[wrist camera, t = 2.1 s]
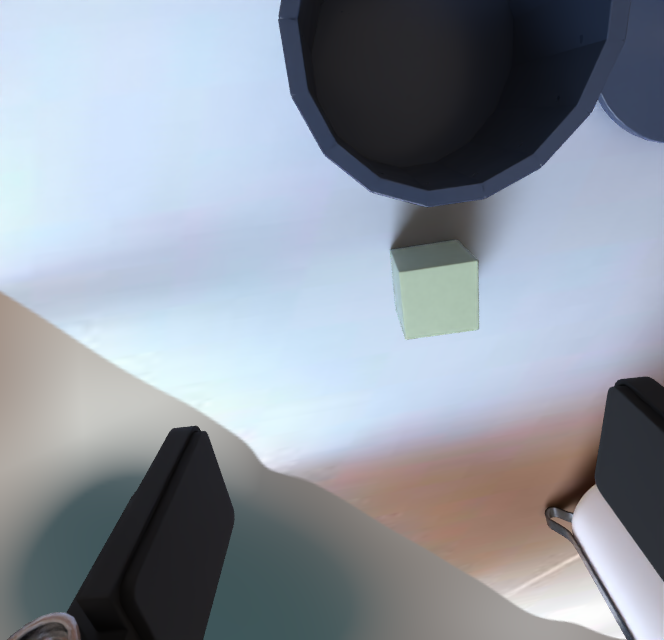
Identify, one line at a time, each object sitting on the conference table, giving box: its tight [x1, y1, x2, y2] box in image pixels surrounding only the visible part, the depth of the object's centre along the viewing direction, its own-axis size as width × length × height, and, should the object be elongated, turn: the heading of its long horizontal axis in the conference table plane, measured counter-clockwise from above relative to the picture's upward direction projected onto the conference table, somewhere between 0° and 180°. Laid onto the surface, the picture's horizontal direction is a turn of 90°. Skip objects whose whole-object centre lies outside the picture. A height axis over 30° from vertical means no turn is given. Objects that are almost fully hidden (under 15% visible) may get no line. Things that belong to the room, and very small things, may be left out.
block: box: [390, 240, 479, 340], centre depth 27 cm, size 5×5×5 cm
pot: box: [278, 0, 631, 207], centre depth 19 cm, size 12×12×10 cm
